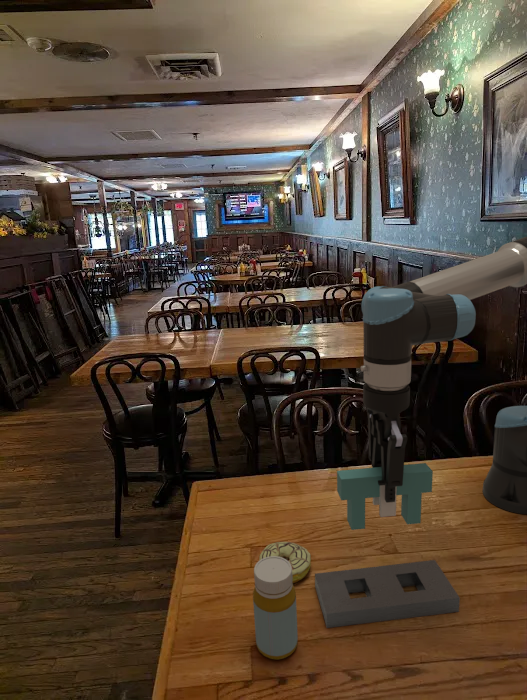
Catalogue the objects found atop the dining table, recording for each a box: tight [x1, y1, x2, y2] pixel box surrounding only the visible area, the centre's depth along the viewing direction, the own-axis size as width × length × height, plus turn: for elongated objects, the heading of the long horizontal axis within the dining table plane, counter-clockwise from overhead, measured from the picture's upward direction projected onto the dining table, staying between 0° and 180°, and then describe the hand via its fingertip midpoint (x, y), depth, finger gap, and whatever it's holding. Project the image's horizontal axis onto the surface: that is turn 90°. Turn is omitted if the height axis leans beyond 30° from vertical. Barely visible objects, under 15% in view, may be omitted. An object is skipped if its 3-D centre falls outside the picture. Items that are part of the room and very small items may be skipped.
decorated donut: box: [258, 541, 312, 585], centre depth 99 cm, size 10×11×4 cm
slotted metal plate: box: [314, 559, 461, 629], centre depth 90 cm, size 24×10×3 cm, turn 96°
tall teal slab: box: [336, 462, 434, 531], centre depth 85 cm, size 16×3×10 cm, turn 95°
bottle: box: [252, 556, 299, 661], centre depth 80 cm, size 7×7×15 cm
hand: (383, 508), depth 86 cm, fingers closed on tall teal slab, 3 cm apart
